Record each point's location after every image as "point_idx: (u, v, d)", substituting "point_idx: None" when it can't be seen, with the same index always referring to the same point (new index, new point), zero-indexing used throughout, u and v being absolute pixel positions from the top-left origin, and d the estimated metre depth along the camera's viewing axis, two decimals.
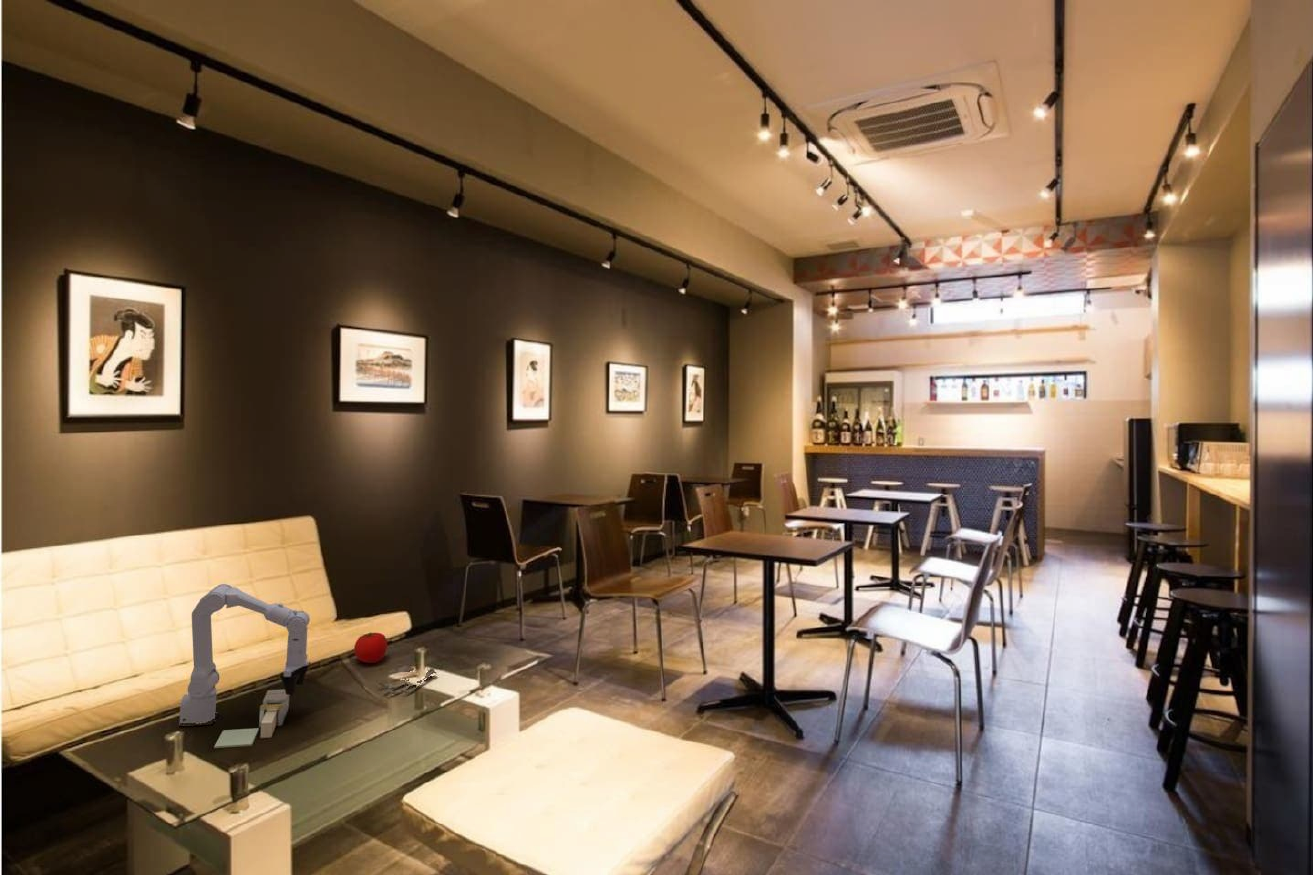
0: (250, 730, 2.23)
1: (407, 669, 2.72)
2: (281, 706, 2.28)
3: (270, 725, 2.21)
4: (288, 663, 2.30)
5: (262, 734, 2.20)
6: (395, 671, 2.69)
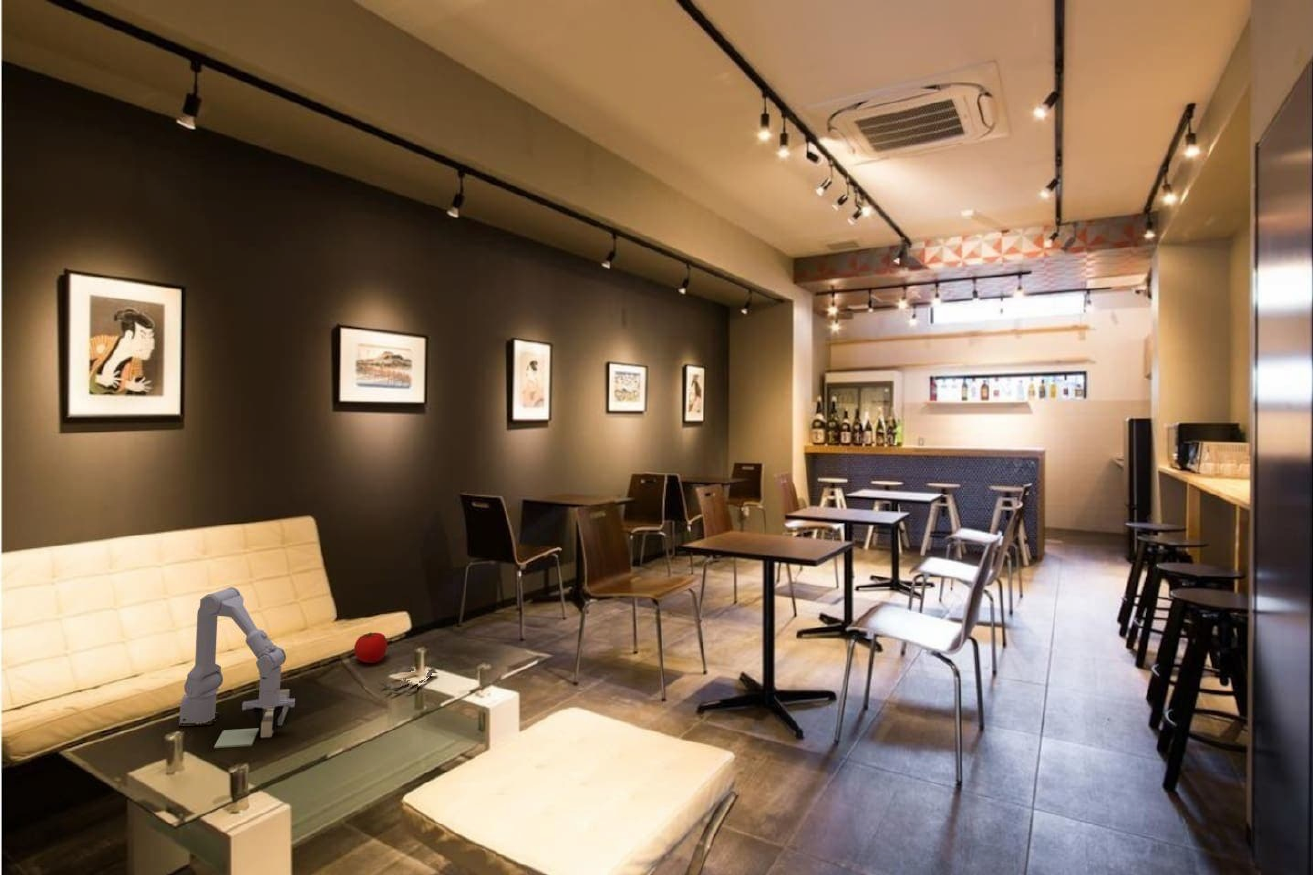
0: (250, 730, 2.23)
1: (408, 669, 2.72)
2: None
3: (270, 724, 2.21)
4: None
5: (262, 733, 2.20)
6: (396, 671, 2.69)
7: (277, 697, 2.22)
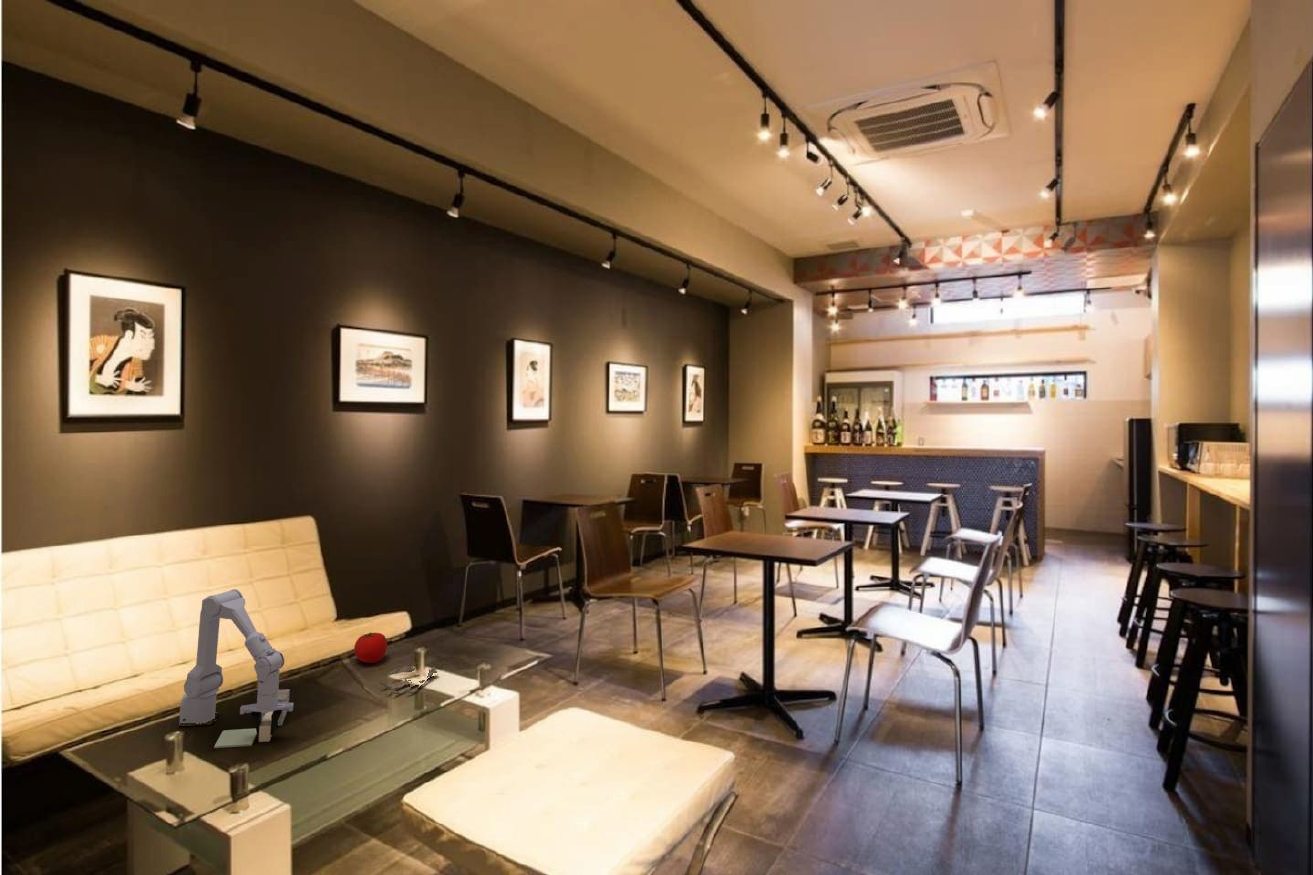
0: (250, 730, 2.23)
1: (408, 669, 2.72)
2: None
3: (268, 728, 2.18)
4: None
5: (260, 738, 2.18)
6: (397, 671, 2.69)
7: (275, 701, 2.19)
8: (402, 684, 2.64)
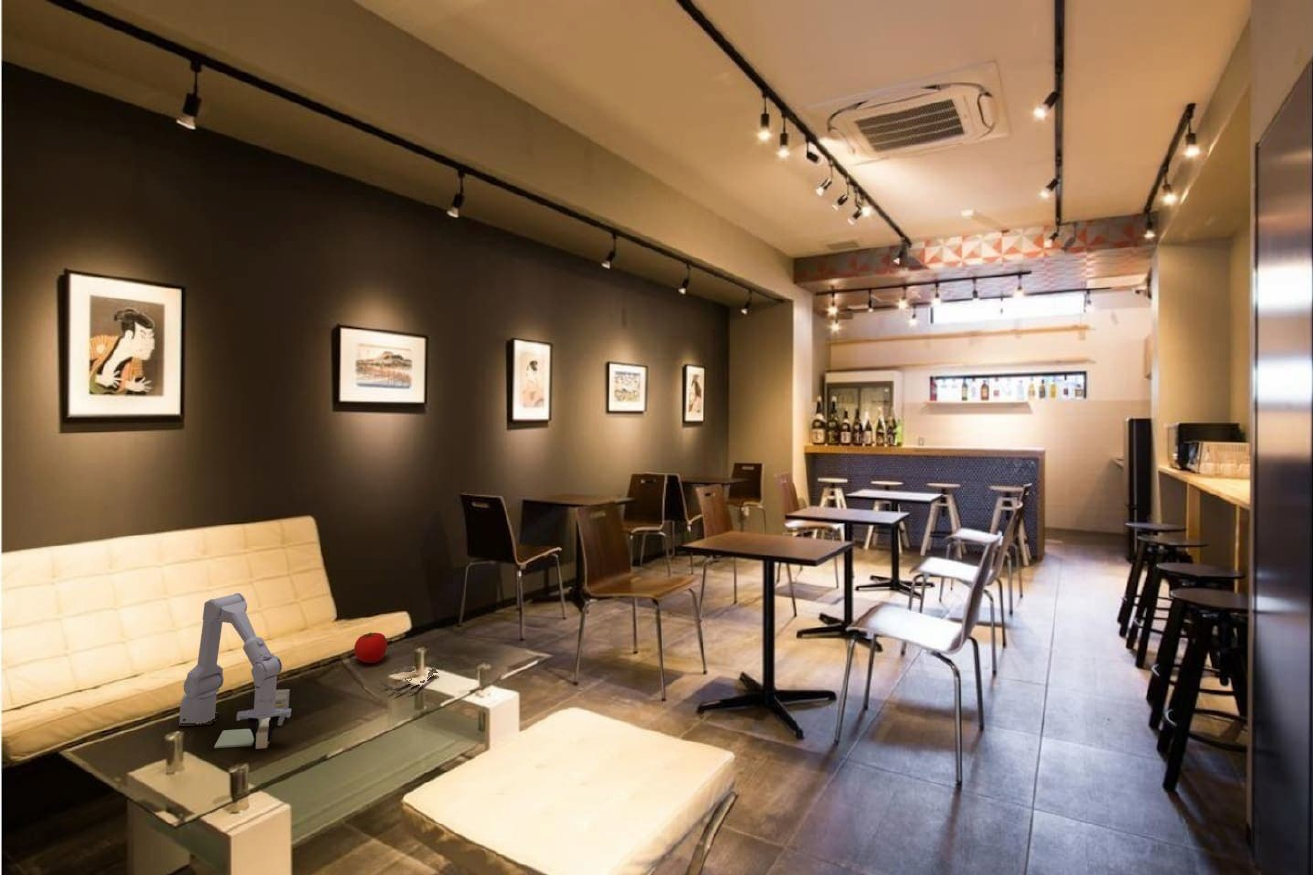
0: (250, 730, 2.23)
1: (409, 669, 2.72)
2: (281, 706, 2.28)
3: (266, 735, 2.14)
4: None
5: (257, 744, 2.14)
6: (397, 671, 2.69)
7: (273, 707, 2.15)
8: (403, 684, 2.64)
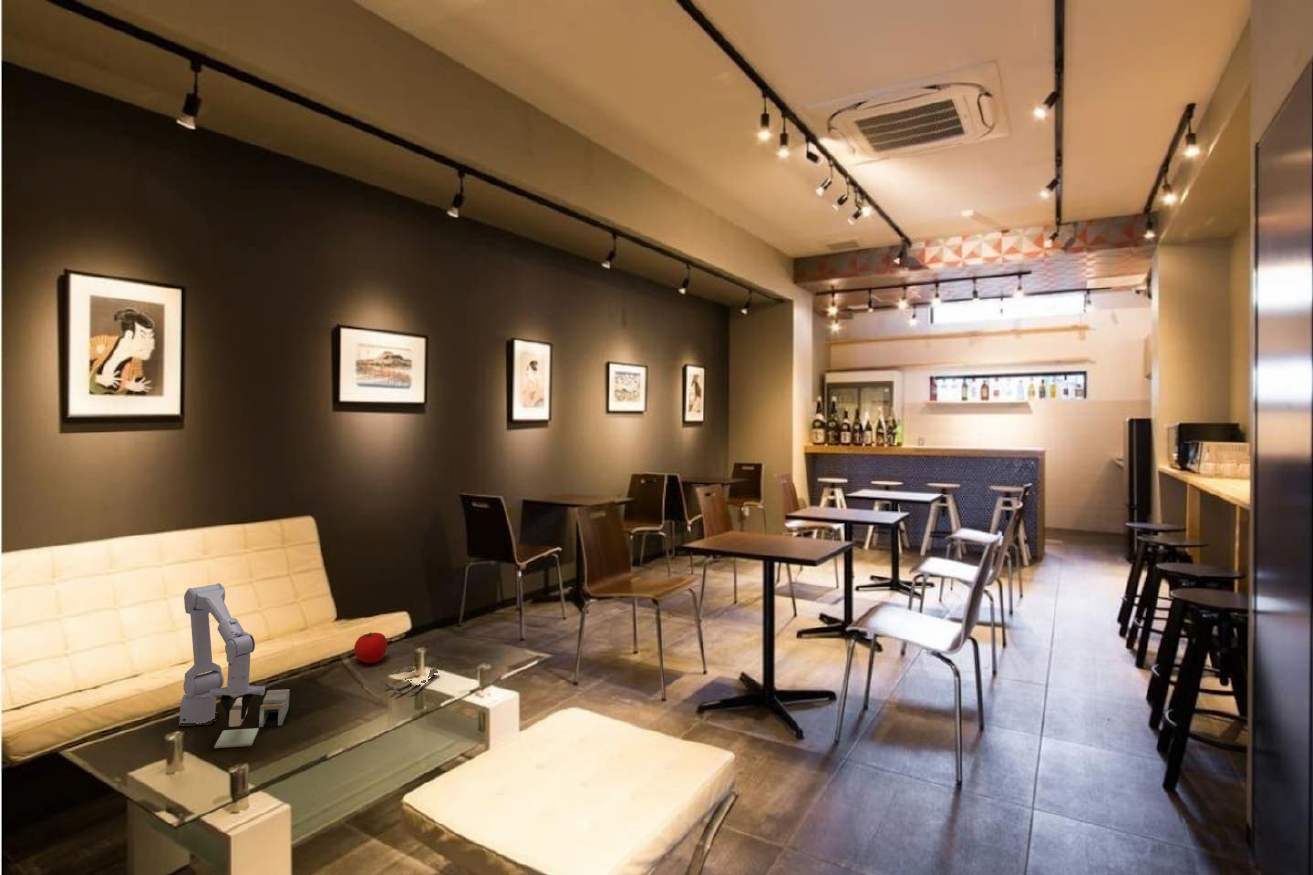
0: (250, 730, 2.23)
1: (409, 669, 2.72)
2: (281, 706, 2.28)
3: (239, 712, 2.14)
4: None
5: (231, 722, 2.13)
6: (398, 672, 2.69)
7: (246, 685, 2.15)
8: (404, 684, 2.64)
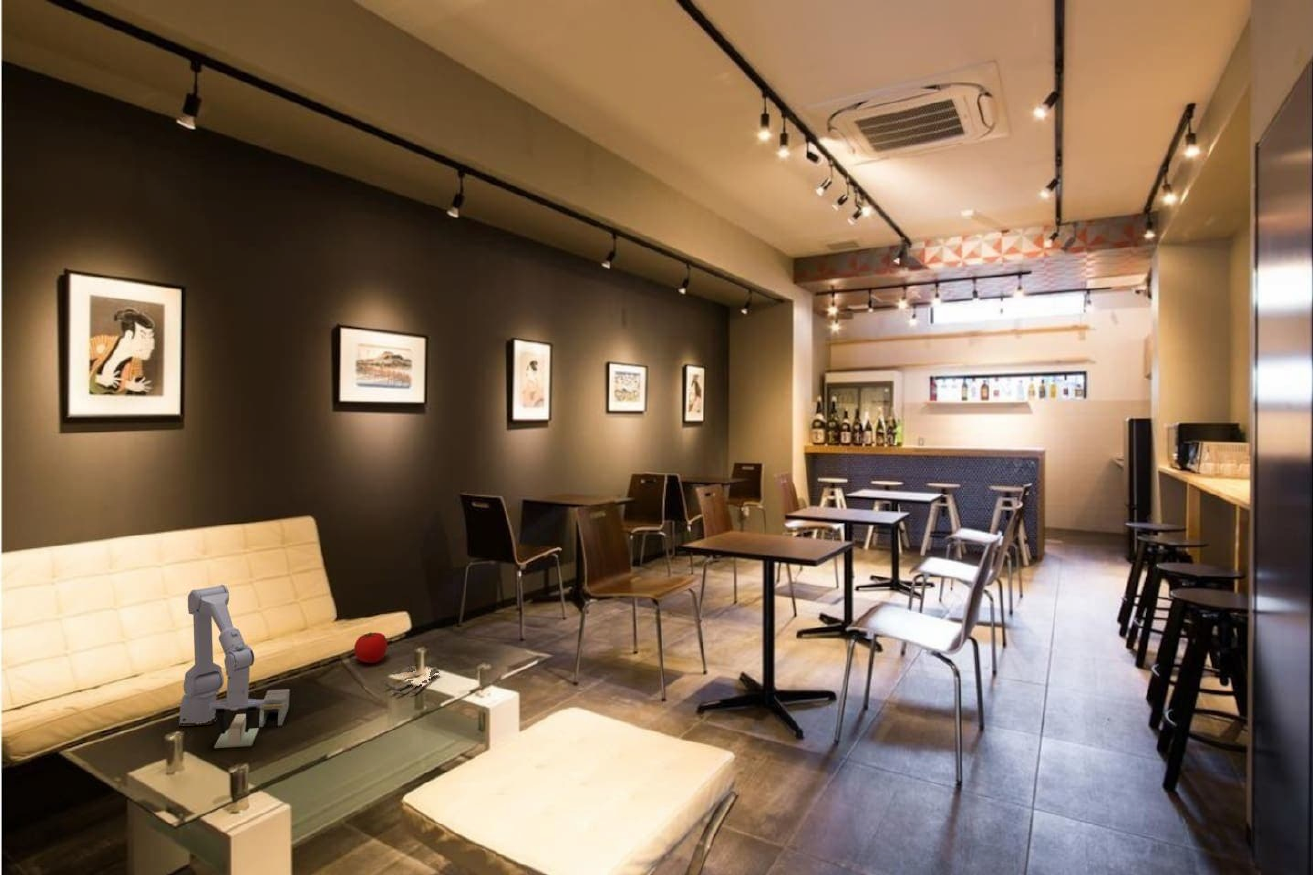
0: (250, 730, 2.23)
1: (410, 669, 2.72)
2: (281, 706, 2.28)
3: (238, 731, 2.14)
4: None
5: (229, 741, 2.13)
6: (399, 672, 2.69)
7: (245, 698, 2.15)
8: (405, 684, 2.64)
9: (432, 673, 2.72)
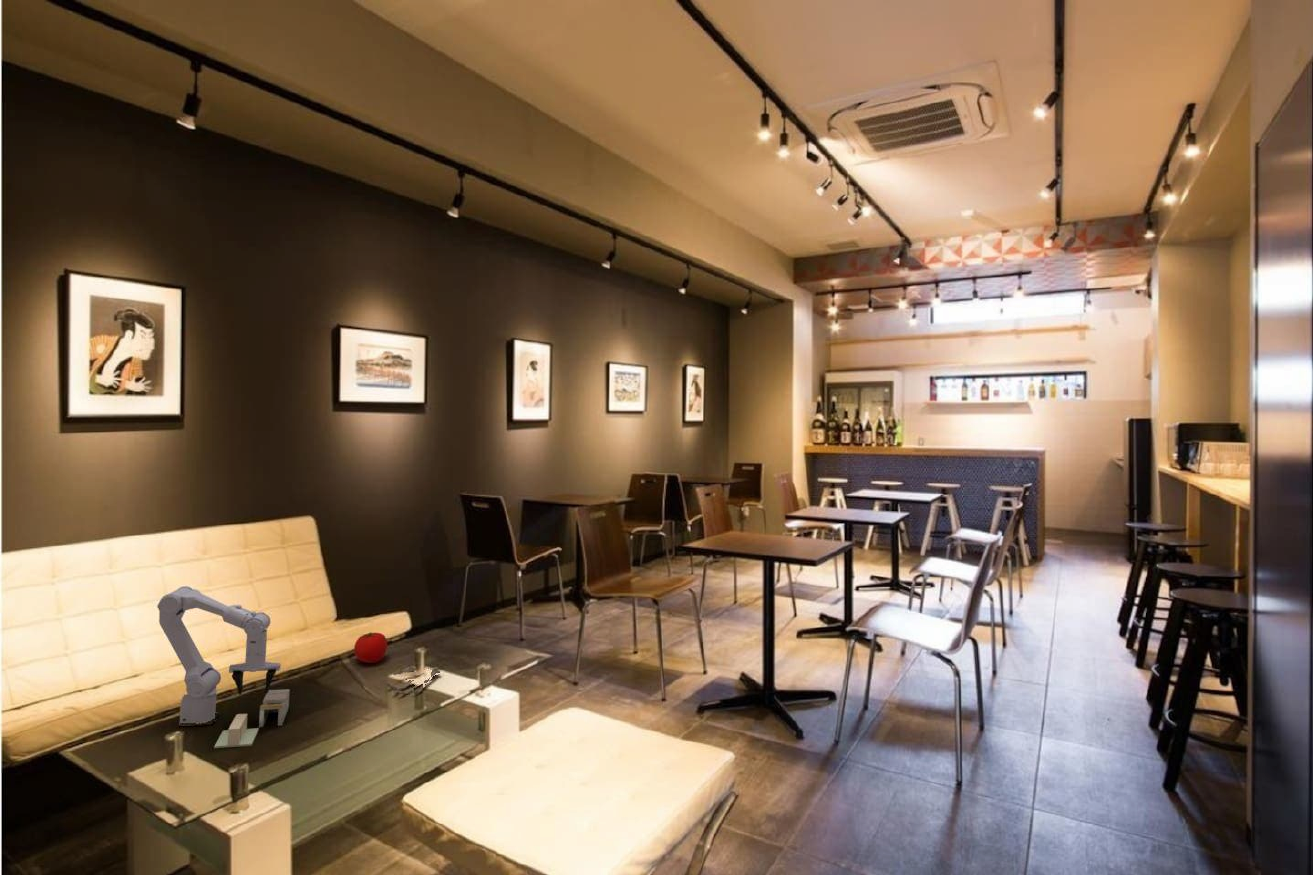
0: (250, 730, 2.23)
1: (411, 669, 2.72)
2: (281, 706, 2.28)
3: (238, 731, 2.14)
4: None
5: (229, 741, 2.13)
6: (400, 672, 2.69)
7: (263, 661, 2.28)
8: (406, 684, 2.64)
9: (433, 673, 2.72)
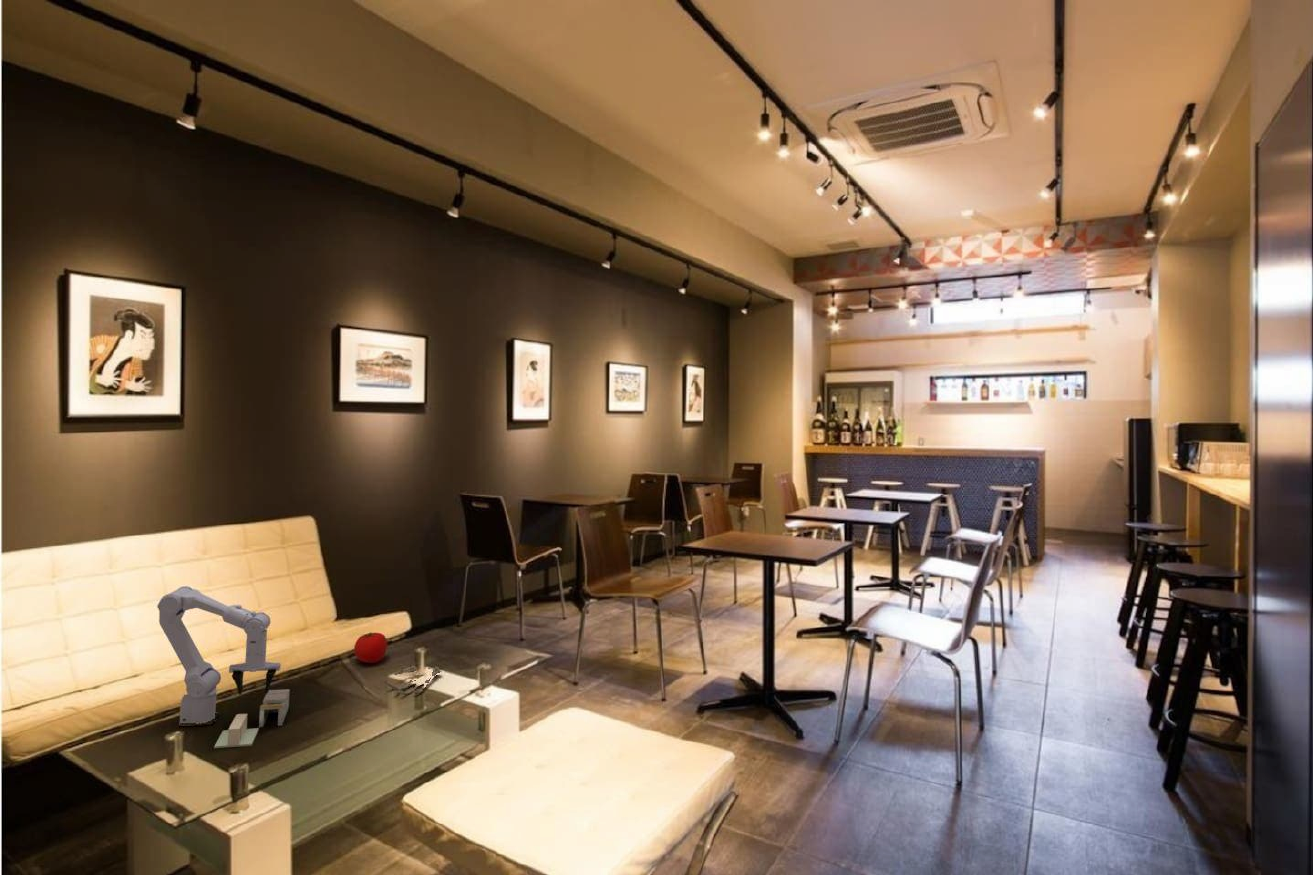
0: (250, 730, 2.23)
1: (412, 669, 2.72)
2: (281, 706, 2.28)
3: (238, 731, 2.14)
4: None
5: (229, 741, 2.13)
6: (400, 672, 2.69)
7: (263, 661, 2.28)
8: (407, 684, 2.64)
9: (434, 673, 2.72)
